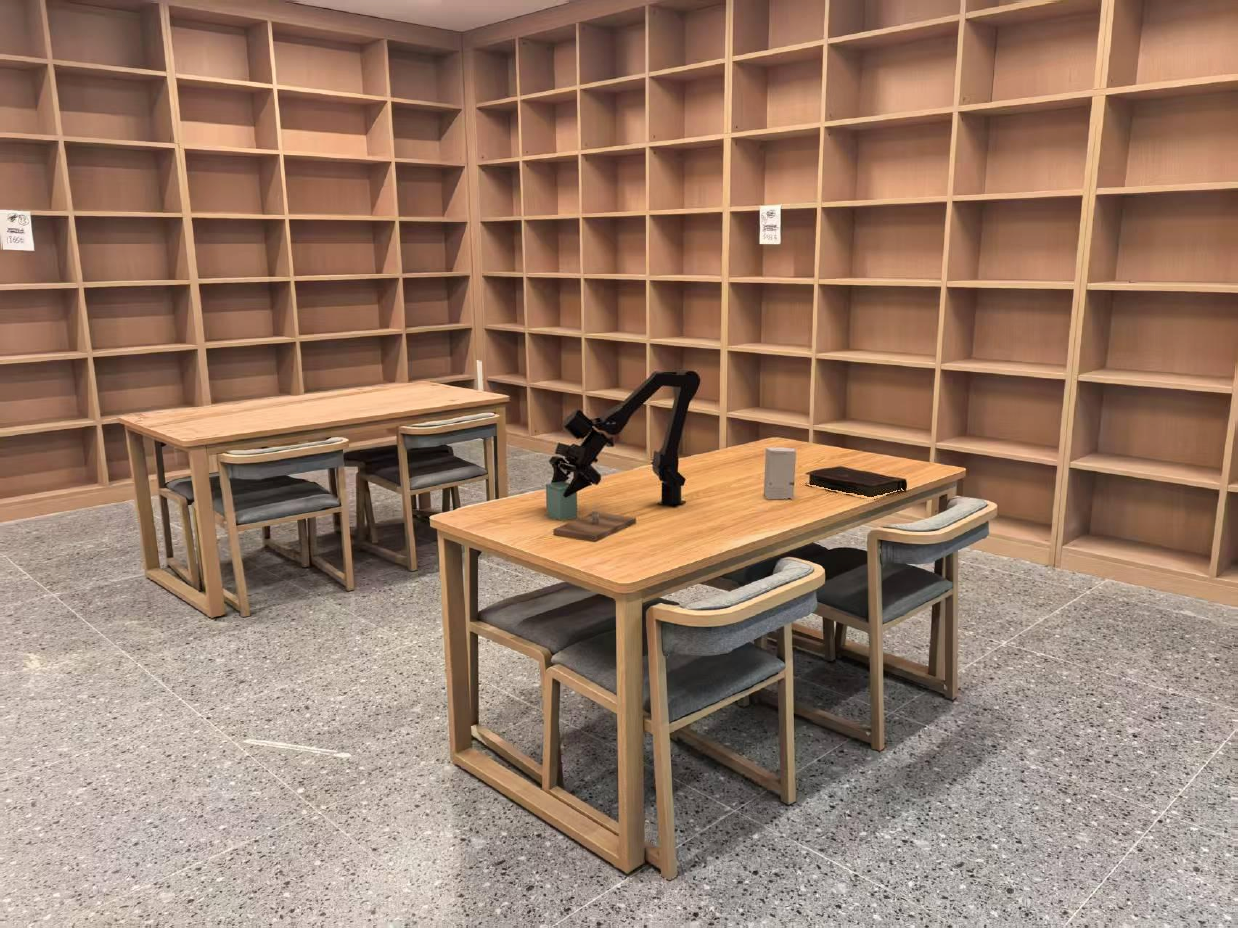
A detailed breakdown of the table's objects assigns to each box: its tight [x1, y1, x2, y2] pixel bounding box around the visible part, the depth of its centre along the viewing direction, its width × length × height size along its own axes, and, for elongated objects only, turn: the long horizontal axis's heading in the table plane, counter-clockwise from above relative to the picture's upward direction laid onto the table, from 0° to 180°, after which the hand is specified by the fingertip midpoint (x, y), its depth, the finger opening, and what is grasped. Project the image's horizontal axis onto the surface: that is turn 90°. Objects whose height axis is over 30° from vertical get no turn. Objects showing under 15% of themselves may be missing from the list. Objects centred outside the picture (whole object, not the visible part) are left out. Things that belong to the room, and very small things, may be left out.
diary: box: [804, 465, 908, 497], centre depth 286 cm, size 19×25×5 cm
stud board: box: [553, 509, 637, 543], centre depth 244 cm, size 20×13×5 cm, turn 149°
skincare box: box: [763, 446, 797, 500], centre depth 275 cm, size 8×6×15 cm
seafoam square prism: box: [545, 481, 578, 522], centre depth 256 cm, size 6×7×9 cm
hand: (557, 494), depth 255 cm, fingers open, 7 cm apart
